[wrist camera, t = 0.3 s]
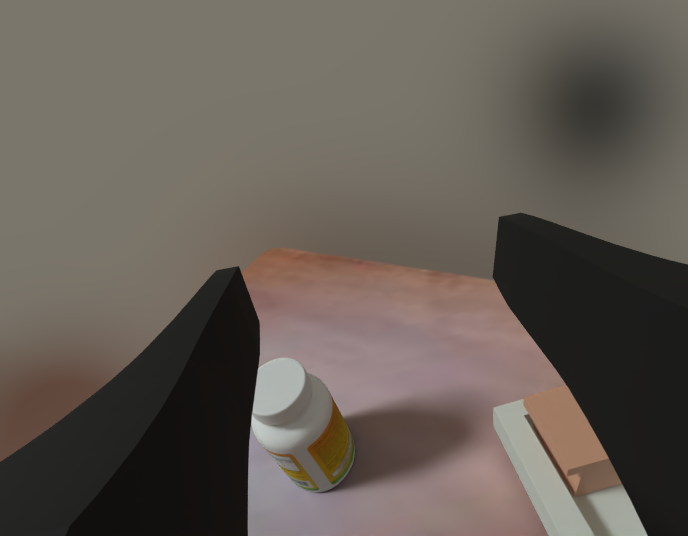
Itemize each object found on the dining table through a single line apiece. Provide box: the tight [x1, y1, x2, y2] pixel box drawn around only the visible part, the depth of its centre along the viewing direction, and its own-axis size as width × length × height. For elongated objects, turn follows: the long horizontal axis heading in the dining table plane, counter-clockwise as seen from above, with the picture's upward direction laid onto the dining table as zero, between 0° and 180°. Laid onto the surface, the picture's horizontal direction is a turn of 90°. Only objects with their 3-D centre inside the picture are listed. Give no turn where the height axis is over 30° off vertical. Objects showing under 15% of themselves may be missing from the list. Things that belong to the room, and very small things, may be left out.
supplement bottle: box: [252, 358, 355, 492], centre depth 26 cm, size 5×5×10 cm
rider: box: [523, 385, 622, 497], centre depth 21 cm, size 4×5×4 cm
